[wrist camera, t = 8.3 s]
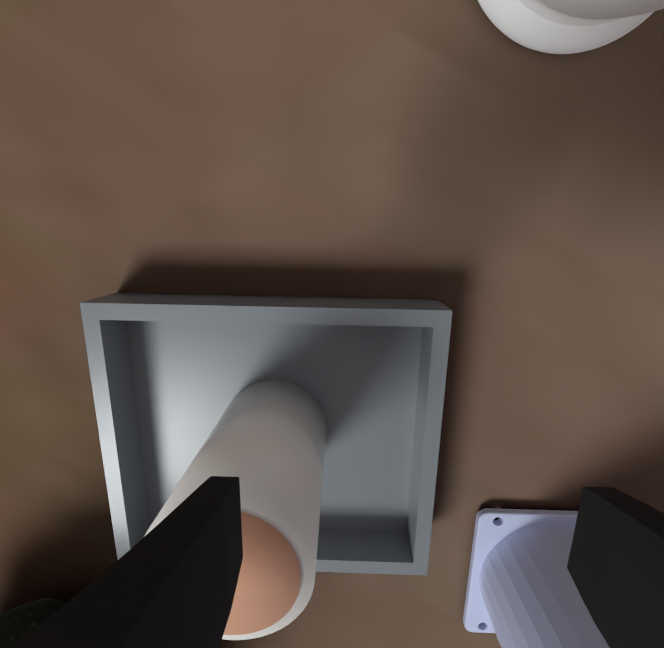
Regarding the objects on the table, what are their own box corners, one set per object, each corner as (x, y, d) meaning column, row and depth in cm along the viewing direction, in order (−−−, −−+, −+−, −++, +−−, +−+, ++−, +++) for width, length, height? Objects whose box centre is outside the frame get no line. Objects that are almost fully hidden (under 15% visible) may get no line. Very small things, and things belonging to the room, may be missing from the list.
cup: (327, 381, 18) (316, 504, 10) (325, 473, 19) (313, 649, 11) (223, 377, 18) (126, 495, 10) (227, 469, 19) (144, 641, 11)
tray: (436, 299, 17) (452, 310, 15) (416, 534, 20) (427, 575, 18) (116, 292, 17) (79, 302, 15) (144, 525, 20) (118, 565, 18)
